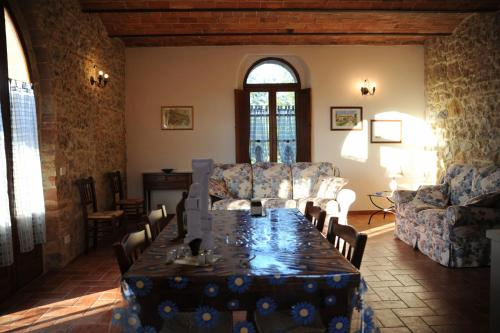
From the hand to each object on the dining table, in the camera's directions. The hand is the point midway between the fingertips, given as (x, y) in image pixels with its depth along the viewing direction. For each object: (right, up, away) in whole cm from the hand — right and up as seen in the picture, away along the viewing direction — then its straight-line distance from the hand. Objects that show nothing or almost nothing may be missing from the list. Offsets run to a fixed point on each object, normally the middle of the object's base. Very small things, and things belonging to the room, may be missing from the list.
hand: (195, 255), depth 176 cm
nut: (+1, -1, +3) cm, 4 cm away
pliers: (+23, -2, -2) cm, 23 cm away
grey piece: (-1, -1, -3) cm, 4 cm away
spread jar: (+30, +4, +108) cm, 112 cm away
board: (0, -2, 0) cm, 2 cm away
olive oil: (-11, 0, +49) cm, 50 cm away
